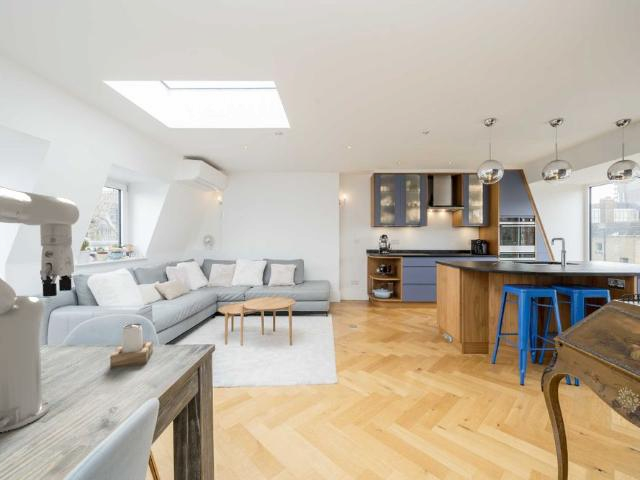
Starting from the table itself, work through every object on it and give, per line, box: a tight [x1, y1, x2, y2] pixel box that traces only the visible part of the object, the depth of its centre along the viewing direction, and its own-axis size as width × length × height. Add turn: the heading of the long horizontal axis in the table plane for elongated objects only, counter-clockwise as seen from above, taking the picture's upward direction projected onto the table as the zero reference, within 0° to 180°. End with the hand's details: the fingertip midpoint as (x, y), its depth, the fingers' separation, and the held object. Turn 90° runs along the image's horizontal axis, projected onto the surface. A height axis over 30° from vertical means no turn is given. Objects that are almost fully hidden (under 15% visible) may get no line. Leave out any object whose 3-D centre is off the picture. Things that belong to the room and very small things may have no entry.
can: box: [121, 323, 143, 353], centre depth 107 cm, size 6×6×12 cm
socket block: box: [109, 341, 154, 370], centre depth 107 cm, size 11×11×4 cm
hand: (58, 293), depth 93 cm, fingers open, 9 cm apart
